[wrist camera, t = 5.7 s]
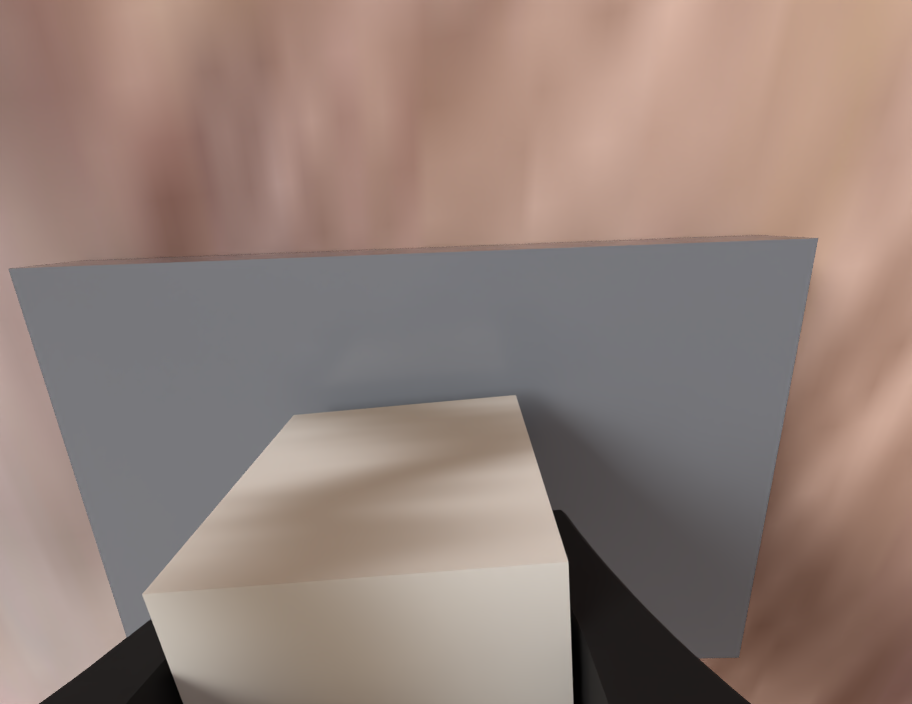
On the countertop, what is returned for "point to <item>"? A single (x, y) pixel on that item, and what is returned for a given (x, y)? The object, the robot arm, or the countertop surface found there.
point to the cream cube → (376, 568)
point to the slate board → (444, 388)
